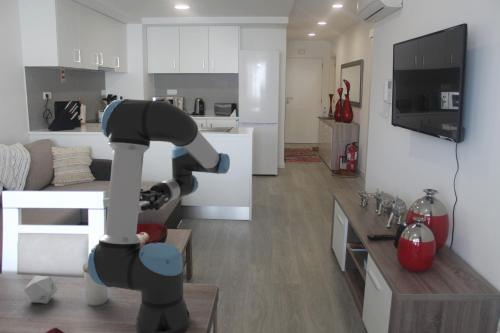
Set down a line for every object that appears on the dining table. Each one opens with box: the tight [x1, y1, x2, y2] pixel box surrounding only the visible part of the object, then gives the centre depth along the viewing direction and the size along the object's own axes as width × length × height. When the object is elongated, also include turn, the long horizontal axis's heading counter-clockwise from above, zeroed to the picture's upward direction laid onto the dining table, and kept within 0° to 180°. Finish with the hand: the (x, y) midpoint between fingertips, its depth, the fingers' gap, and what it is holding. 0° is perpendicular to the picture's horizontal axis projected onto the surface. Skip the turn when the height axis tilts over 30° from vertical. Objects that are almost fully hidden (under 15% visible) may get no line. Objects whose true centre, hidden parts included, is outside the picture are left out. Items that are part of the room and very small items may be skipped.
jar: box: [82, 262, 109, 306], centre depth 132 cm, size 7×7×12 cm
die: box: [23, 275, 58, 305], centre depth 132 cm, size 8×9×10 cm
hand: (117, 206), depth 136 cm, fingers open, 13 cm apart
